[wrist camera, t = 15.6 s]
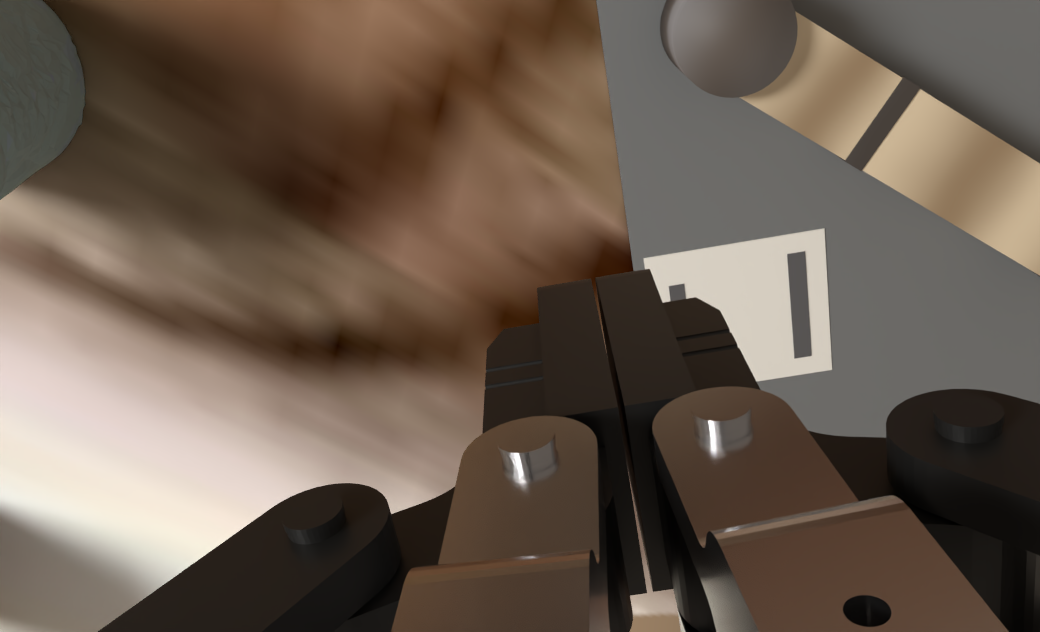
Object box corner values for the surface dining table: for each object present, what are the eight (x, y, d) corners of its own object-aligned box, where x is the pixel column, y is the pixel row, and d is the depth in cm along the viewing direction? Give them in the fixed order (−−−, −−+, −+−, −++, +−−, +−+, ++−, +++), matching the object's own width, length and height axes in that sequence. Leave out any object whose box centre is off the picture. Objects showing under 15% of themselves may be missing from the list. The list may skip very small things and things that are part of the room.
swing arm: (638, 46, 38) (652, 60, 35) (699, -56, 37) (719, -53, 33) (1076, 305, 43) (1130, 342, 39) (1145, 223, 41) (1208, 253, 38)
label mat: (595, -8, 38) (595, -8, 38) (1321, -143, 36) (1325, -143, 36) (664, 493, 47) (664, 495, 47) (1247, 406, 45) (1249, 408, 45)
